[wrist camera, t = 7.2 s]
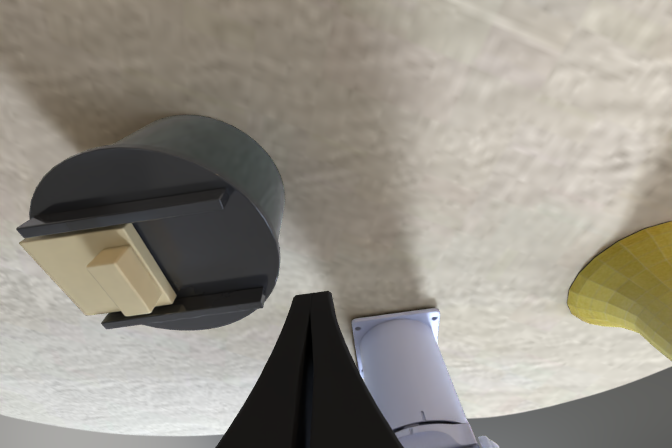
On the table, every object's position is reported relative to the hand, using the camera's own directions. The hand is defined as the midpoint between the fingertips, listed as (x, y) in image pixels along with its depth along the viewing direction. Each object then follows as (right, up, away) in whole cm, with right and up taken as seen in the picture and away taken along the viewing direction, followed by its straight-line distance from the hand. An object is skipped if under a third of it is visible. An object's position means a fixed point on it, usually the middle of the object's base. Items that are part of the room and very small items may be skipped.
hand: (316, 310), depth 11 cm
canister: (-8, +5, +8) cm, 12 cm away
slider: (-10, +1, +2) cm, 10 cm away
